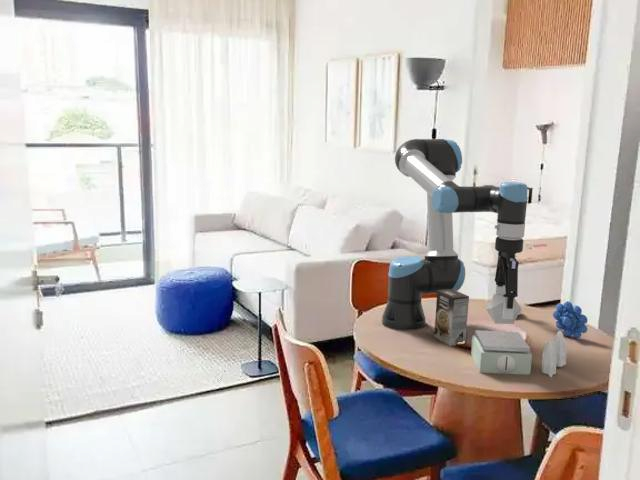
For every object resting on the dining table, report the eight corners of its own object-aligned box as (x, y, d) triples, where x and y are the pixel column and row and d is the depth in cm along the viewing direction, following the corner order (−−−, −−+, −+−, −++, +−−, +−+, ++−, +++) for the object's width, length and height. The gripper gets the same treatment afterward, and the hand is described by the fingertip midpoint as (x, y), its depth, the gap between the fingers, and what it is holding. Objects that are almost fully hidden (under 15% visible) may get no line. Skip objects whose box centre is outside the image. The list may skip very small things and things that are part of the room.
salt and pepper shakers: (554, 361, 177) (558, 326, 175) (568, 365, 175) (572, 329, 172) (537, 372, 169) (541, 336, 167) (552, 377, 166) (555, 339, 164)
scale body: (471, 353, 182) (472, 333, 181) (517, 355, 181) (519, 335, 180) (480, 373, 168) (481, 351, 166) (530, 375, 167) (532, 353, 165)
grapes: (545, 335, 200) (549, 300, 198) (554, 330, 205) (557, 297, 202) (580, 344, 192) (584, 308, 190) (588, 339, 197) (592, 304, 194)
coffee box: (433, 337, 196) (436, 289, 193) (449, 334, 199) (452, 288, 195) (449, 346, 188) (452, 297, 185) (466, 344, 190) (469, 295, 187)
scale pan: (474, 334, 180) (474, 330, 180) (518, 335, 179) (518, 332, 179) (482, 349, 168) (483, 345, 167) (529, 352, 167) (530, 348, 166)
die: (513, 331, 166) (530, 301, 168) (486, 314, 167) (503, 284, 168) (503, 332, 175) (520, 303, 176) (477, 315, 175) (494, 287, 177)
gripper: (488, 230, 179) (482, 301, 183) (505, 244, 157) (498, 325, 161) (513, 230, 178) (507, 302, 182) (534, 245, 156) (527, 326, 160)
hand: (503, 313), depth 172 cm, fingers closed on die, 10 cm apart
